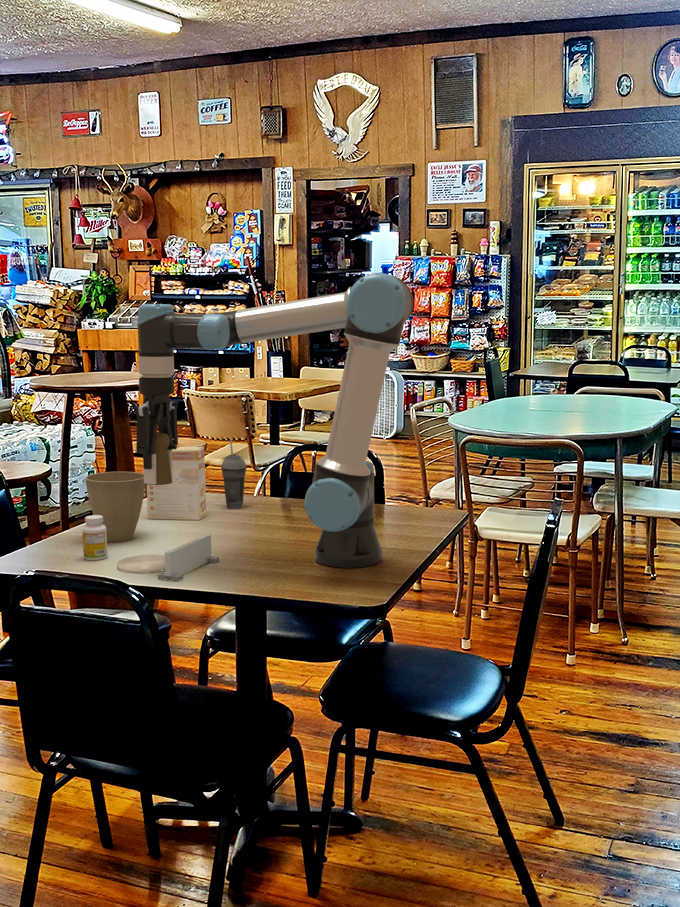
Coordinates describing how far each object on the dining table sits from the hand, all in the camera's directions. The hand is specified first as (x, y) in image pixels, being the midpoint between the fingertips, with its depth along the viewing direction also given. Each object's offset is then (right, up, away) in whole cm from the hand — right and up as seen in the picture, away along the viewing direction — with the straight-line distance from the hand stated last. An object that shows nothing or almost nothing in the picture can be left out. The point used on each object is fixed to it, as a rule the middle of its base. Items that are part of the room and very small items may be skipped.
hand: (158, 480), depth 212 cm
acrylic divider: (+7, -20, 0) cm, 21 cm away
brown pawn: (0, -1, 0) cm, 1 cm away
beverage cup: (+9, -10, +67) cm, 69 cm away
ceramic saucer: (-3, -19, +4) cm, 20 cm away
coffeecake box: (-5, -12, +55) cm, 56 cm away
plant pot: (-16, -16, +30) cm, 38 cm away
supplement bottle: (-17, -18, +12) cm, 27 cm away
